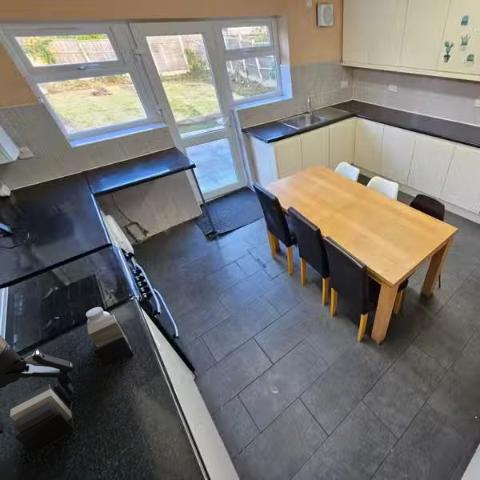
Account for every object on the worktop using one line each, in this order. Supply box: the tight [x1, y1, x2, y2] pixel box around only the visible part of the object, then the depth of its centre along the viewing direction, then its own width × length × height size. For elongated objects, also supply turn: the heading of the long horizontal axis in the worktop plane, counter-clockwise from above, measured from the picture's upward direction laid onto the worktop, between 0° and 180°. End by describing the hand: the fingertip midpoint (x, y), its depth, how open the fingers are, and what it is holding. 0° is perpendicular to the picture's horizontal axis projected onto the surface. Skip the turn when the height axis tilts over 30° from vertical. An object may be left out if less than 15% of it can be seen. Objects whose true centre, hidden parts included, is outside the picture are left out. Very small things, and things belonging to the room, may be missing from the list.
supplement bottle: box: [85, 306, 111, 326], centre depth 98 cm, size 7×7×13 cm
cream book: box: [9, 389, 72, 423], centre depth 71 cm, size 2×8×11 cm, turn 133°
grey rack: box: [14, 383, 75, 455], centre depth 72 cm, size 11×8×11 cm
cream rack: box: [86, 314, 134, 368], centre depth 92 cm, size 11×8×12 cm
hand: (38, 409), depth 70 cm, fingers open, 13 cm apart
